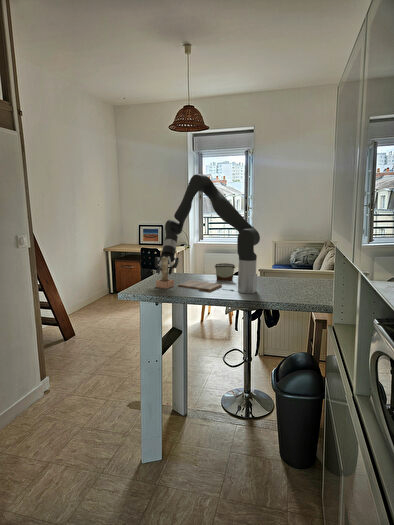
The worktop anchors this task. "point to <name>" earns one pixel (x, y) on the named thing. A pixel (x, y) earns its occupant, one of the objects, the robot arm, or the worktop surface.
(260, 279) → the worktop surface
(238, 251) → the robot arm
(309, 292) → the worktop surface
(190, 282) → the walnut board
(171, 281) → the terracotta cup
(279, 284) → the worktop surface
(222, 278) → the food container
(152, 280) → the worktop surface
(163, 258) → the birch dowel
